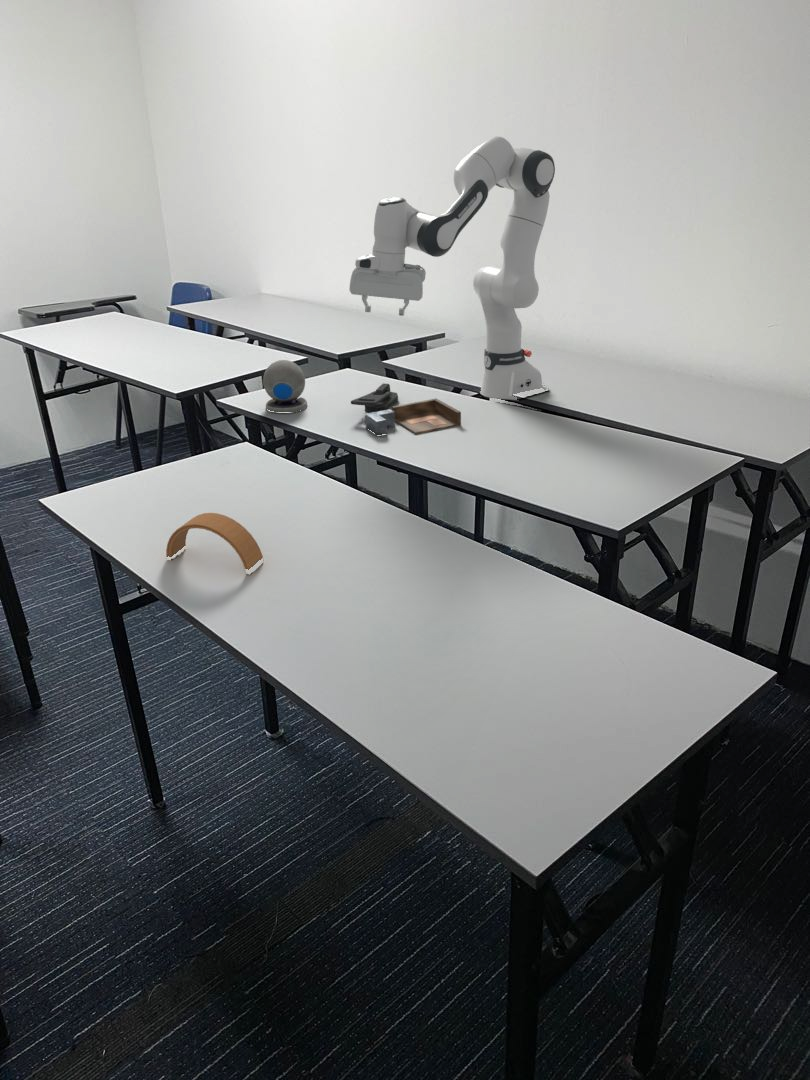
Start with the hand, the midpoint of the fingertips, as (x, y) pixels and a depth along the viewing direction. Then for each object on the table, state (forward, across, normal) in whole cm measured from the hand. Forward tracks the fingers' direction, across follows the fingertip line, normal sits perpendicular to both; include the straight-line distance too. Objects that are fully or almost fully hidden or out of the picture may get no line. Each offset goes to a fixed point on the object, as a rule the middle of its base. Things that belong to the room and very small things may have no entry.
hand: (384, 313), depth 228 cm
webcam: (+36, +30, -14) cm, 49 cm away
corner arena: (+30, -14, 0) cm, 34 cm away
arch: (+35, +25, +86) cm, 96 cm away
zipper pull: (+33, +2, -11) cm, 35 cm away
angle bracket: (+32, -3, +7) cm, 33 cm away
